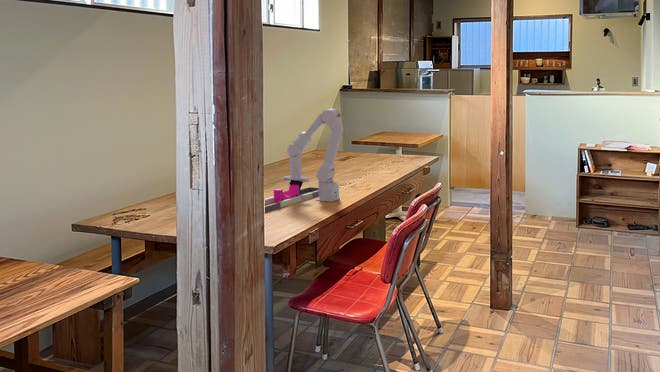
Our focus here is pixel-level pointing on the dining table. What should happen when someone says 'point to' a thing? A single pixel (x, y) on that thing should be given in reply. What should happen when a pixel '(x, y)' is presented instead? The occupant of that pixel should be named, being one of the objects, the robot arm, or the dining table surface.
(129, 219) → the dining table surface
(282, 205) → the long grey tray strip
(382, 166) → the dining table surface
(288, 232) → the dining table surface
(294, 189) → the toy block
